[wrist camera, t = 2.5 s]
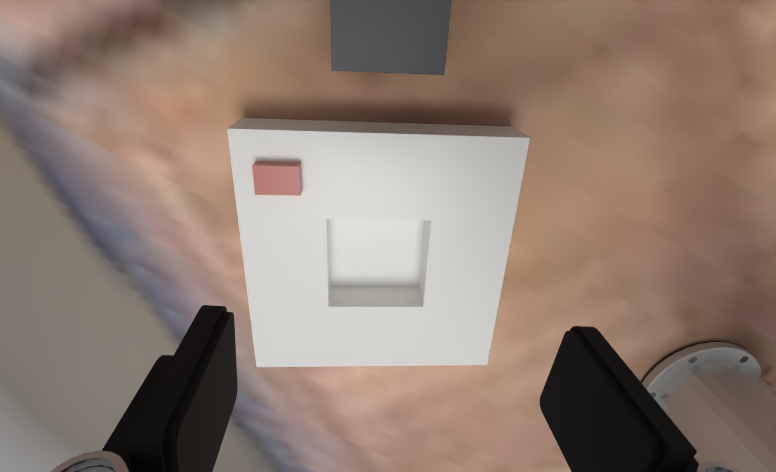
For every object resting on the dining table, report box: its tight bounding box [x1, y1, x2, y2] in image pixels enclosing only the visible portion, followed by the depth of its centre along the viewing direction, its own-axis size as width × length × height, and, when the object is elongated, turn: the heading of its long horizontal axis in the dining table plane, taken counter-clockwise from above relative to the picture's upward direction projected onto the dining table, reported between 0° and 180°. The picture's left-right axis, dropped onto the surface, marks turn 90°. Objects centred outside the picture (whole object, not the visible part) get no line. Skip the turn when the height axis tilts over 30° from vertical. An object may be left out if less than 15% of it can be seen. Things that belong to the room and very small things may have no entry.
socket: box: [227, 118, 530, 367], centre depth 33 cm, size 20×20×5 cm
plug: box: [331, 0, 451, 75], centre depth 24 cm, size 6×6×8 cm
